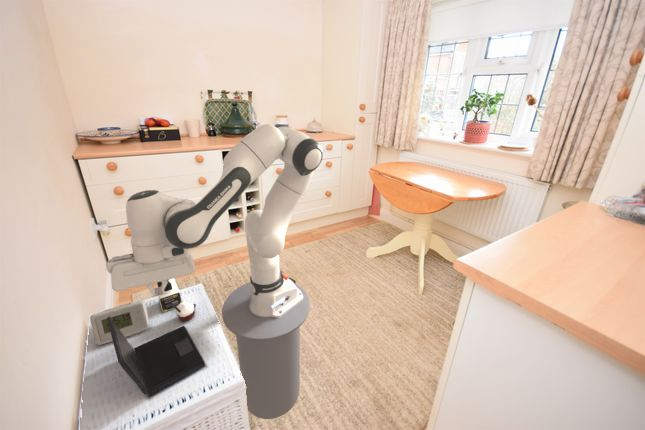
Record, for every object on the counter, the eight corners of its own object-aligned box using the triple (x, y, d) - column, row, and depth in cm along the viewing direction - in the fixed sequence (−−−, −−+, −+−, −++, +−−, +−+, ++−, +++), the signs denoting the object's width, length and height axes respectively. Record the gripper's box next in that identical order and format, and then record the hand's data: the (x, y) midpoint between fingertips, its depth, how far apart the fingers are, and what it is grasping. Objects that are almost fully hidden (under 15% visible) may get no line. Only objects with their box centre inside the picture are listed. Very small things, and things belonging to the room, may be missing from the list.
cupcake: (195, 308, 116) (190, 284, 111) (201, 317, 112) (197, 292, 107) (170, 320, 110) (164, 294, 106) (175, 329, 106) (169, 304, 101)
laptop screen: (110, 316, 88) (106, 317, 88) (122, 360, 74) (118, 362, 74) (133, 348, 96) (130, 349, 96) (148, 393, 83) (144, 395, 82)
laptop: (184, 328, 107) (183, 325, 106) (205, 366, 93) (204, 362, 92) (134, 352, 97) (133, 347, 96) (149, 397, 83) (148, 393, 83)
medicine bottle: (163, 312, 114) (156, 287, 109) (159, 302, 119) (153, 278, 114) (182, 305, 118) (177, 281, 113) (178, 295, 123) (173, 272, 118)
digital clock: (94, 348, 98) (85, 324, 93) (102, 328, 105) (94, 305, 101) (149, 336, 103) (142, 313, 99) (152, 318, 111) (147, 296, 106)
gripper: (104, 263, 71) (114, 311, 75) (193, 246, 82) (198, 289, 86) (105, 253, 76) (114, 299, 80) (189, 239, 87) (193, 280, 91)
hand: (158, 294), depth 83 cm, fingers closed
